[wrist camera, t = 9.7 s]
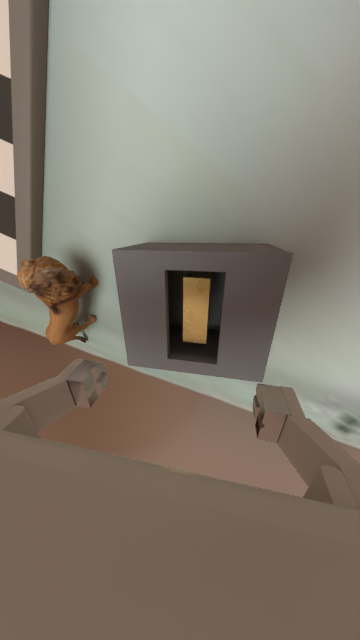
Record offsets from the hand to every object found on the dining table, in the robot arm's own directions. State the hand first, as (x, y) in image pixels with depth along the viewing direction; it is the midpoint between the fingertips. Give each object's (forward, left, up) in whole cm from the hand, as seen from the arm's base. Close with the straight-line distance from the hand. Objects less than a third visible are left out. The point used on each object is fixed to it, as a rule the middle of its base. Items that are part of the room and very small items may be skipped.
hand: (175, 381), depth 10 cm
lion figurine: (+2, -18, -17) cm, 25 cm away
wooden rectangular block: (0, 0, -16) cm, 16 cm away
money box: (0, 0, -17) cm, 17 cm away
